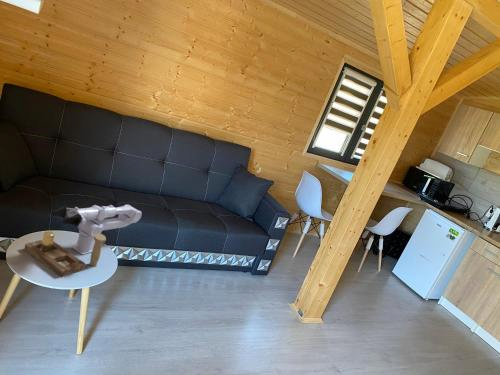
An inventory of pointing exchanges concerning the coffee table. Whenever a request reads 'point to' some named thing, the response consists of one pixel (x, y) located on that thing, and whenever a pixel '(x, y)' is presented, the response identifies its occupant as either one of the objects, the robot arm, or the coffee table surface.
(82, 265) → the mount block
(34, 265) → the coffee table surface
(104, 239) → the handle
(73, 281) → the coffee table surface
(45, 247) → the peg
